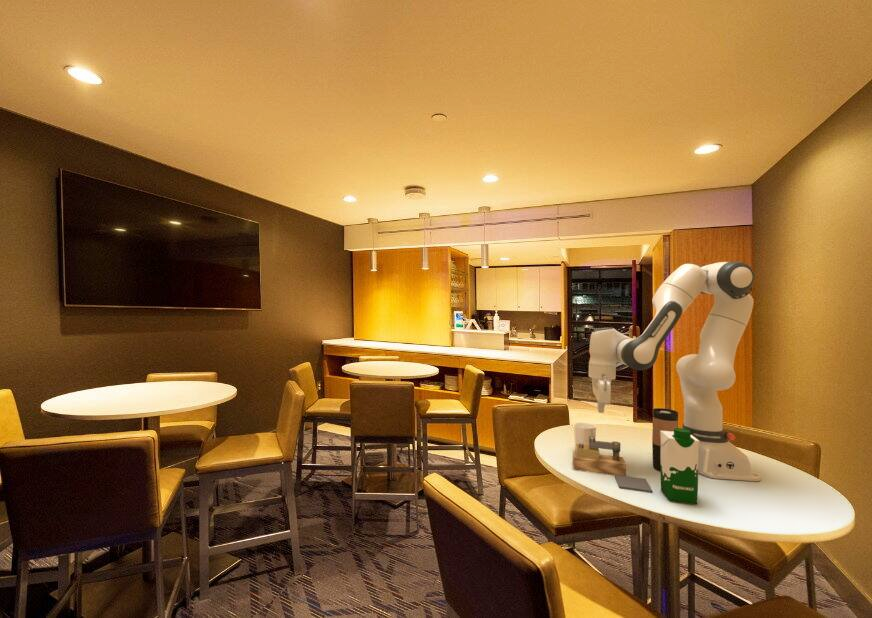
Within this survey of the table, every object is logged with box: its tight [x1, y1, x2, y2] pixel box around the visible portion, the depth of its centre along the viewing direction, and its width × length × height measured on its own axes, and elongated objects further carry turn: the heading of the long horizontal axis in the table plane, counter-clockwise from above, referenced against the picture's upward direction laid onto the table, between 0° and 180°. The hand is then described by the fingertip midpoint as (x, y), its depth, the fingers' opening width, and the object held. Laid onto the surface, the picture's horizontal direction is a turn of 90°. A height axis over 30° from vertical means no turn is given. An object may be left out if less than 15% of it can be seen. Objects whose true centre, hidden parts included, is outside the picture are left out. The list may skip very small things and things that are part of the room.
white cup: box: [573, 422, 597, 451], centre depth 147 cm, size 8×8×10 cm
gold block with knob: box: [575, 443, 600, 460], centre depth 131 cm, size 7×5×4 cm
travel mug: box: [651, 407, 679, 472], centre depth 131 cm, size 8×8×20 cm
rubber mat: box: [614, 475, 654, 494], centre depth 118 cm, size 9×9×1 cm
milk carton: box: [659, 427, 699, 506], centre depth 110 cm, size 9×9×20 cm
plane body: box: [572, 450, 627, 476], centre depth 129 cm, size 16×7×7 cm, turn 73°
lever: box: [589, 437, 622, 453], centre depth 129 cm, size 10×3×4 cm, turn 73°
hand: (600, 412), depth 135 cm, fingers closed
